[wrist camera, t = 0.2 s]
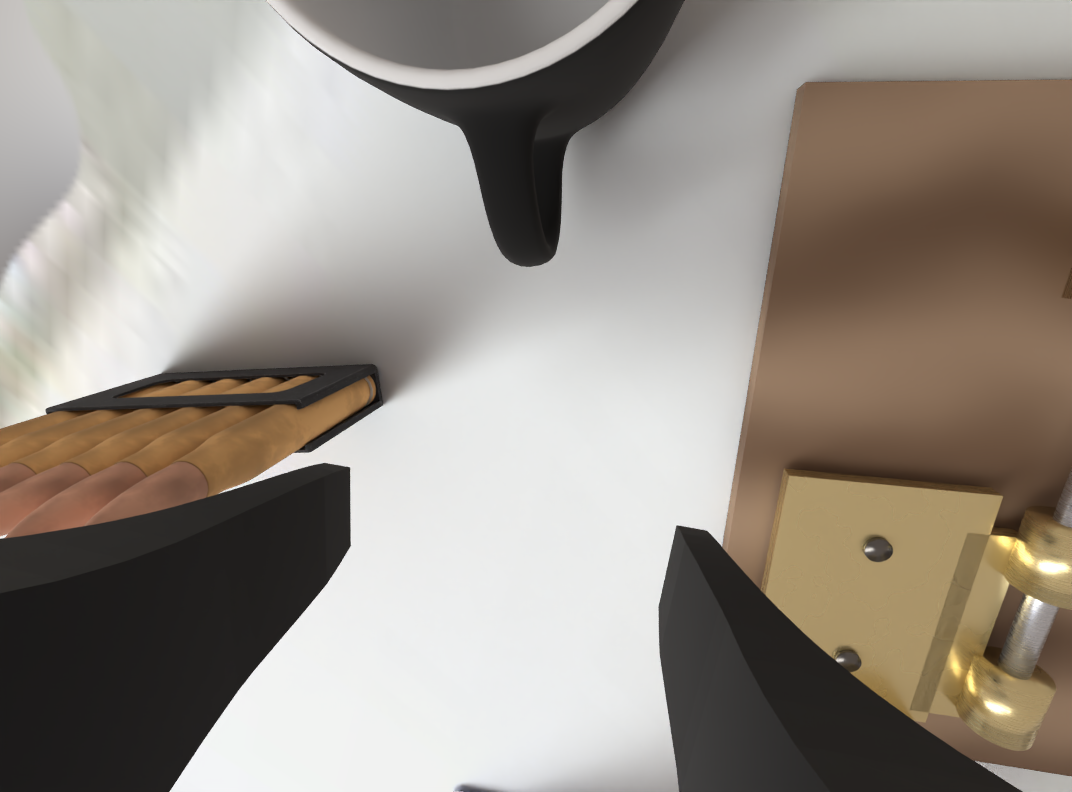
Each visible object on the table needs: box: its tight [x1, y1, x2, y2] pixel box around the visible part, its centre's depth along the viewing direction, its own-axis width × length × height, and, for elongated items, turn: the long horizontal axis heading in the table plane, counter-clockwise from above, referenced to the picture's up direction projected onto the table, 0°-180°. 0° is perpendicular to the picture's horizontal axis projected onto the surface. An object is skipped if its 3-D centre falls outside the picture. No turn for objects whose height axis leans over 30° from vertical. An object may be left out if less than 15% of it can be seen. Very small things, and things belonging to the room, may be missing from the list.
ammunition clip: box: [0, 364, 383, 538], centre depth 17 cm, size 11×2×12 cm, turn 95°
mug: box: [266, 0, 684, 267], centre depth 12 cm, size 12×9×10 cm
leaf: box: [760, 468, 1072, 751], centre depth 17 cm, size 15×10×3 cm, turn 178°
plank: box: [722, 80, 1072, 776], centre depth 18 cm, size 25×20×1 cm
